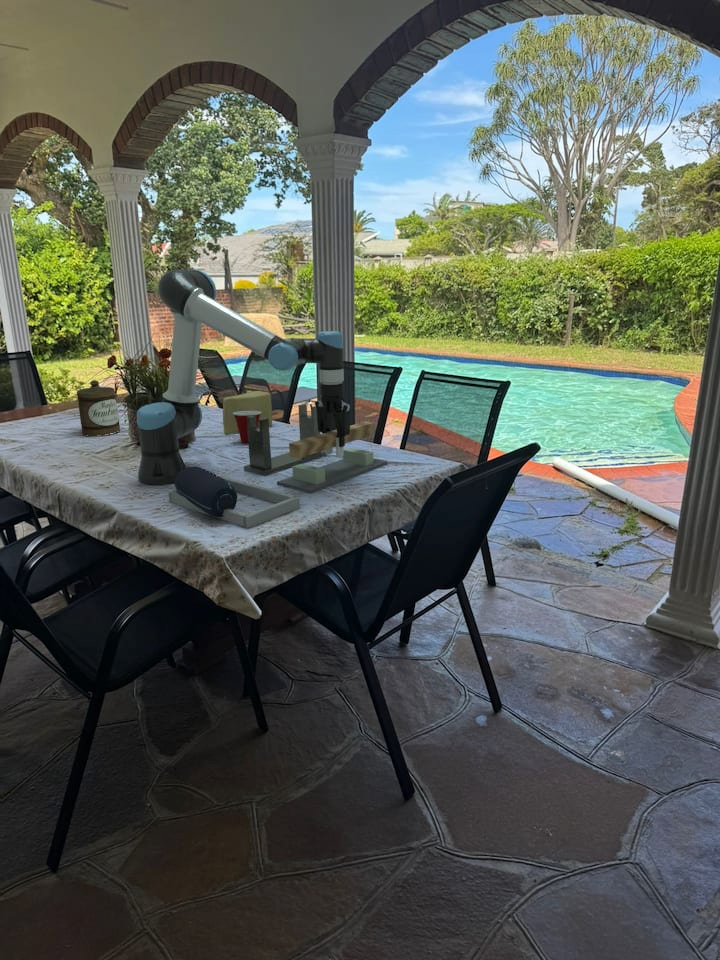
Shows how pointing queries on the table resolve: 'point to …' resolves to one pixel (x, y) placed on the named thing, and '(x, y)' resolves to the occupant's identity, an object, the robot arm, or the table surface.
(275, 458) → the grey notched post stand
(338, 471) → the plate with green blocks
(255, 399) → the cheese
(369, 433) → the rail
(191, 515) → the table surface
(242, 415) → the plastic cup
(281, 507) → the speaker dock
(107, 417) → the wooden container
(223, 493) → the portable speaker
